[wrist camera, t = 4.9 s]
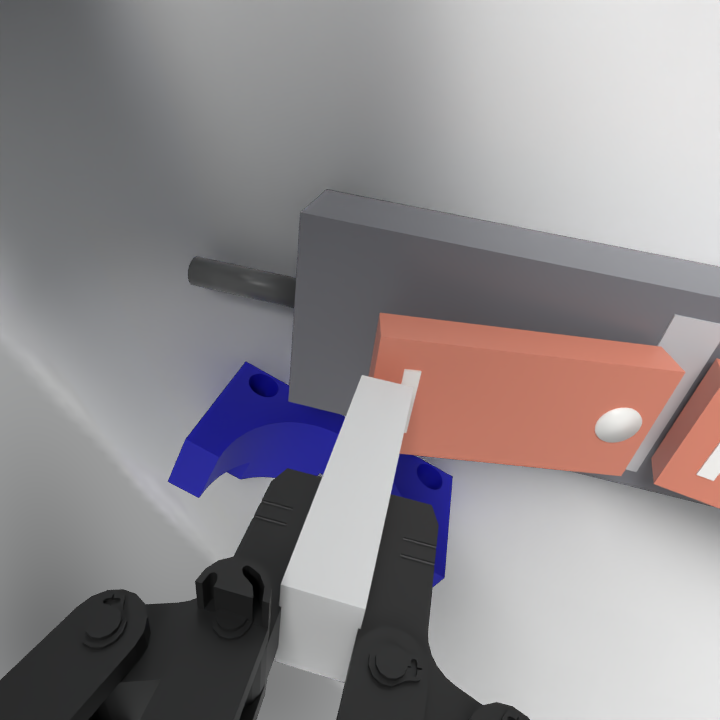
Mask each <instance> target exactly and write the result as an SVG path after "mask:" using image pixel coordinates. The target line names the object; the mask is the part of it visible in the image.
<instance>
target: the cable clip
mask: <svg viewBox="0 0 720 720" xmlns="http://www.w3.org/2000/svg"><path fill="white" fill-rule="evenodd" d="M288 399H289V385H287V384H285V383H283V382H282V381H280V380H278V379H276V378H274V377H273V376H271V375H269V374H267V373H265V372H264V371H262V370H260V369H258V368H256V367H255V366H253V365H251V364H249V363H247V362H245V363H244V364H243V366H242V367H241V368H240V370H239V371H238V372H237V374H236V375H235V376H234V377H233V379H232V380H231V381H230V383H229V384H228V385H227V386H226V388H225V389H224V390H223V392H222V393H221V394H220V395H219V397H218V398H217V399H216V401H215V402H214V403H213V404H212V406H211V407H210V408H209V410H208V411H207V412H206V413H205V415H204V416H203V417H202V419H201V420H200V421H199V423H198V424H197V425H196V426H195V428H194V429H193V430H192V432H191V433H190V434H189V435H188V437H187V438H186V439H185V442H184V444H183V446H182V449H181V451H180V453H179V456H178V458H177V461H176V463H175V465H174V468H173V470H172V473H171V475H170V477H169V480H168V482H169V483H171V484H173V485H175V486H177V487H179V488H181V489H183V490H185V491H187V492H188V493H190V494H192V495H194V496H196V497H198V498H199V497H200V496H201V495H202V493H203V492H204V491H205V489H206V488H207V487H208V486H209V485H210V484H211V483H212V482H213V481H214V480H216V479H217V478H218V477H219V476H221V475H222V474H224V473H225V472H228V473H229V474H231V475H233V476H235V477H237V478H239V479H246V478H252V477H272V478H276V477H277V476H279V475H280V474H281V473H282V472H283V471H284V470H286V469H287V468H289V469H293V470H297V471H300V472H304V473H308V474H312V475H315V476H318V475H319V473H321V474H324V471H325V469H326V466H327V464H328V461H329V459H330V456H331V453H332V451H333V448H334V446H335V443H336V440H337V438H338V435H339V433H340V430H341V428H342V425H343V422H344V420H345V417H344V416H343V415H341V414H337V413H333V412H329V411H325V410H321V409H317V408H313V407H309V406H305V405H301V404H297V403H293V402H289V401H288ZM452 478H453V477H452V476H450V475H448V474H447V473H445V472H443V471H441V470H440V469H438V468H436V467H434V466H432V465H431V464H429V463H427V462H425V461H423V460H422V459H420V458H418V457H416V456H414V455H407V454H399V458H398V463H397V467H396V472H395V476H394V481H393V485H392V490H391V494H392V495H396V496H400V497H404V498H407V499H411V500H415V501H419V502H423V503H426V504H430V505H432V507H433V510H434V513H435V516H436V519H437V522H438V524H439V528H438V537H437V546H436V557H435V564H434V577H433V587H434V586H435V585H436V584H437V583H439V582H440V581H441V580H442V579H444V577H445V565H446V552H447V540H448V527H449V515H450V502H451V490H452Z"/></svg>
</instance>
